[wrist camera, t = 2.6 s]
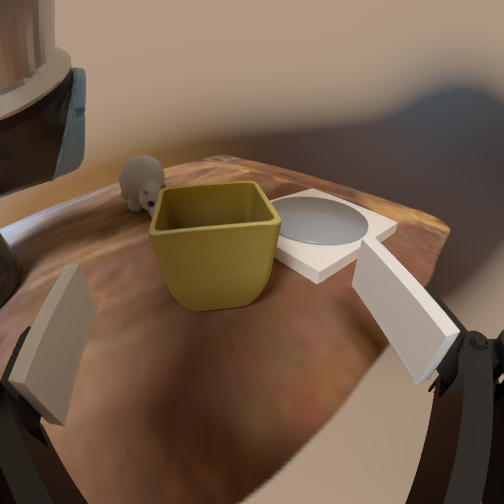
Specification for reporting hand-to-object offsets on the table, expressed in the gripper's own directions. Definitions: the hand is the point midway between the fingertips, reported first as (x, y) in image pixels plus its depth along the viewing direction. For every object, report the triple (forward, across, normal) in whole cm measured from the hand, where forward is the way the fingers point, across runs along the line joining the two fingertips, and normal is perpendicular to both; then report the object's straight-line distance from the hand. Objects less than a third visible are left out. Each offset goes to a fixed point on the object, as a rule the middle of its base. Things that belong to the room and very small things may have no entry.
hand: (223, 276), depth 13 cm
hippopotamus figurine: (+31, -10, -9) cm, 34 cm away
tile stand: (+21, +13, -9) cm, 27 cm away
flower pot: (+10, 0, -9) cm, 14 cm away
